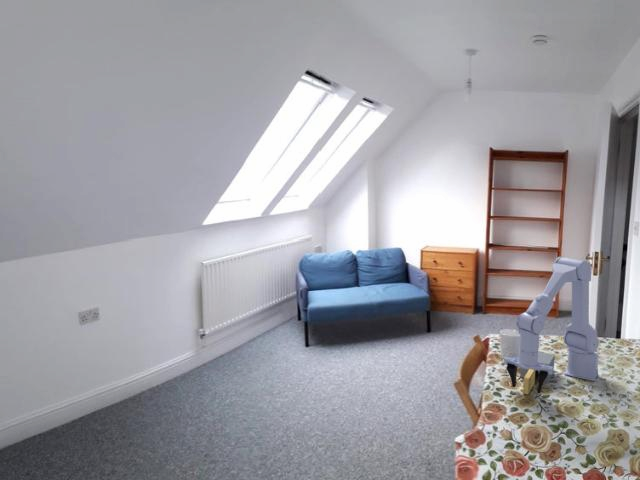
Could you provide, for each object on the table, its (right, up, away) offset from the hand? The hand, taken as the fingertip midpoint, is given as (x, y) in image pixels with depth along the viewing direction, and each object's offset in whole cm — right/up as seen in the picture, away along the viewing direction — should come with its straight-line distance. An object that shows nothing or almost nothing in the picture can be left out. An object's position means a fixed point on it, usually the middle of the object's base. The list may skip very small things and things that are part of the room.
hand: (526, 389), depth 157 cm
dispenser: (+10, +1, +13) cm, 17 cm away
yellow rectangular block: (+2, -1, +3) cm, 4 cm away
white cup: (+6, +3, +29) cm, 30 cm away
